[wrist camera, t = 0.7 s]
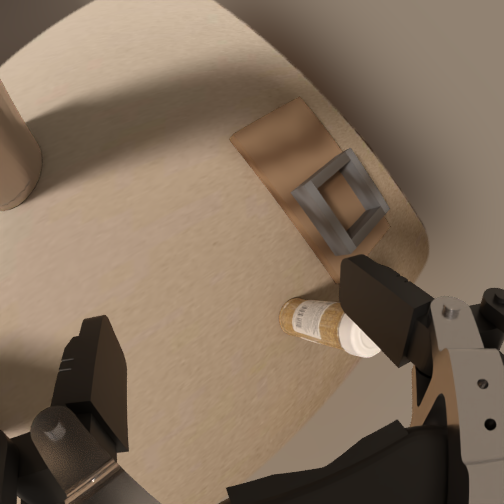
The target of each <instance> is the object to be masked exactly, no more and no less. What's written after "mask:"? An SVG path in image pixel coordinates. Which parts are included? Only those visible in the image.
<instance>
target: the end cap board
mask: <svg viewBox="0 0 504 504" xmlns="http://www.w3.org/2000/svg"><path fill="white" fill-rule="evenodd" d="M229 140H230V141H231V142H232V144H233V145H234V146H235V147H236V149H237V150H238V151H239V153H240V154H241V155H242V156H243V158H244V159H245V160H246V161H247V163H248V164H249V165H250V167H251V168H252V169H253V170H254V172H255V173H256V174H257V176H258V177H259V178H260V180H261V181H262V182H263V183H264V185H265V186H266V187H267V189H268V190H269V191H270V193H271V194H272V195H273V197H274V198H275V199H276V201H277V202H278V203H279V205H280V206H281V207H282V209H283V210H284V211H285V213H286V214H287V215H288V217H289V218H290V220H291V221H292V222H293V224H294V225H295V226H296V228H297V229H298V230H299V232H300V233H301V235H302V236H303V237H304V239H305V240H306V242H307V243H308V244H309V246H310V247H311V249H312V250H313V251H314V253H315V254H316V256H317V257H318V258H319V260H320V261H321V263H322V264H323V265H324V267H325V268H326V270H327V271H328V273H329V274H330V276H331V277H332V278H333V280H334V281H335V283H340V265H341V261H342V260H343V259H344V258H348V257H352V256H355V255H359V254H364V255H366V256H367V255H368V254H369V253H370V251H371V250H372V249H373V248H374V247H375V245H376V244H377V243H378V242H379V241H380V239H381V238H382V237H383V236H384V234H385V233H386V232H387V231H388V229H389V228H390V227H391V226H390V225H389V223H388V221H387V220H386V218H385V216H384V215H385V214H386V213H387V212H388V210H389V209H390V208H389V206H388V205H387V203H386V201H385V200H384V198H383V196H382V195H381V193H380V192H379V190H378V188H377V187H376V185H375V184H374V182H373V181H372V179H371V177H370V176H369V174H368V173H367V171H366V170H365V168H364V167H363V165H362V164H361V162H360V161H359V159H358V158H357V157H356V155H355V154H354V152H353V151H352V149H351V148H349V149H347V150H345V151H343V152H342V151H341V149H340V148H339V146H338V145H337V144H336V142H335V141H334V140H333V138H332V137H331V135H330V134H329V133H328V131H327V130H326V129H325V127H324V126H323V125H322V124H321V122H320V121H319V120H318V118H317V117H316V116H315V114H314V113H313V112H312V111H311V109H310V108H309V107H308V106H307V104H306V103H305V102H304V101H303V99H302V98H301V97H298V98H296V99H294V100H292V101H290V102H289V103H287V104H285V105H283V106H281V107H279V108H278V109H276V110H274V111H272V112H270V113H269V114H267V115H265V116H263V117H261V118H260V119H258V120H256V121H255V122H253V123H251V124H249V125H248V126H246V127H244V128H243V129H241V130H239V131H238V132H236V133H234V134H233V135H232V136H231V138H230V139H229Z"/></svg>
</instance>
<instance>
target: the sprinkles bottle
mask: <svg viewBox="0 0 504 504" xmlns="http://www.w3.org/2000/svg"><path fill="white" fill-rule="evenodd" d="M279 322H280V325H281V327H282V329H283V331H284V332H285V333H287V334H289V335H292V336H298V337H301V338H303V339H305V340H308V341H312V342H315V343H319V344H324V345H327V346H331V347H334V348H338V349H342V350H345V351H346V352H348V353H349V354H352V355H355V356H360V357H365V358H368V357H372V356H374V355H376V354H377V353H379V352H380V350H381V349H380V348H379V347H378V346H377V345H376V344H375V343H374V342H373V341H372V340H371V339H370V338H369V337H368V336H367V335H366V334H365V333H364V332H363V331H362V330H361V329H360V328H359V327H358V326H357V325H356V324H355V323H354V322H353V321H352V320H351V319H350V318H349V317H348V316H347V315H346V314H345V313H344V311H343V310H342V308H341V305H340V302H328V301H318V300H304V299H301V298H295V299H291V300H289V301H288V302H286V303H285V304H284V306H283V307H282V309H281V311H280V315H279Z"/></svg>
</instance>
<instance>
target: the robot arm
mask: <svg viewBox="0 0 504 504" xmlns="http://www.w3.org/2000/svg"><path fill="white" fill-rule="evenodd" d="M41 168H42V154H41V150H40V147H39V145H38V144H37V142H36V140H35V139H34V137H33V135H32V134H31V132H30V130H29V129H28V127H27V125H26V124H25V122H24V120H23V119H22V117H21V115H20V114H19V112H18V110H17V108H16V107H15V105H14V103H13V101H12V100H11V98H10V96H9V94H8V92H7V90H6V89H5V87H4V85H3V83H2V81H1V79H0V211H4V210H9V209H12V208H14V207H16V206H18V205H19V204H20V203H22V202H23V201H24V200H25V199H26V198H27V197H28V196H29V195H30V194H31V192H32V191H33V189H34V188H35V186H36V184H37V181H38V179H39V176H40V173H41ZM339 301H340V305H341V308H342V310H343V311H344V313H345V314H346V315H347V316H348V317H349V318H350V319H351V320H352V321H353V322H354V323H355V324H356V325H357V326H358V327H359V328H360V329H361V330H362V331H363V332H364V333H365V334H366V335H367V336H368V337H369V338H370V339H371V340H372V341H373V342H374V343H375V344H376V345H377V346H378V347H379V348H380V349H381V350H382V351H383V352H384V354H386V355H387V357H389V358H390V360H391V361H392V362H393V363H394V364H395V365H396V366H397V367H398V368H399V367H401V366H403V365H405V364H407V363H409V362H412V363H413V364H414V365H413V368H412V420H411V424H410V427H408V428H404V427H403V426H402V424H401V423H400V422H399V421H398V420H396V421H394V422H392V423H390V424H389V425H387V426H385V427H383V428H381V429H379V430H378V431H376V432H374V433H372V434H370V435H368V436H366V437H364V438H362V439H361V440H360V441H358V442H357V443H356V444H355V445H353V446H352V447H351V448H350V449H348V450H347V451H346V452H345V453H343V454H342V455H341V456H340V457H338V458H337V459H336V460H334V461H333V462H332V463H330V464H329V465H327V466H325V467H322V468H318V469H312V470H305V471H299V472H292V473H284V474H274V475H271V476H267V477H264V478H261V479H257V480H254V481H250V482H247V483H243V484H239V485H235V486H231V487H227V488H226V490H227V493H228V496H229V498H228V499H226V500H224V501H222V502H220V503H219V504H504V355H503V354H502V353H501V352H500V351H499V350H500V348H501V345H502V343H503V341H504V290H503V289H500V288H490V289H487V290H486V291H485V292H484V294H483V298H482V301H481V304H476V305H471V306H468V305H467V304H466V303H465V302H464V301H462V300H460V299H458V298H455V297H449V296H443V297H438V298H436V299H434V298H433V297H432V296H430V295H429V294H427V293H426V292H424V291H423V290H422V289H420V288H419V287H417V286H416V285H415V284H413V283H412V282H410V281H409V282H408V280H407V279H406V278H404V277H403V276H400V274H398V273H397V272H396V271H394V270H393V269H391V268H389V267H386V266H383V265H380V264H378V263H376V262H375V261H373V260H372V259H370V258H369V257H367V256H366V255H364V254H359V255H355V256H352V257H348V258H344V259H343V260H342V261H341V265H340V288H339ZM128 451H129V447H128V427H127V366H126V360H125V357H124V354H123V351H122V349H121V347H120V344H119V342H118V340H117V338H116V335H115V333H114V331H113V328H112V326H111V323H110V321H109V319H108V317H107V316H106V315H102V316H97V317H92V318H87V319H84V320H83V322H82V326H81V330H80V333H79V336H76V337H73V338H72V339H71V340H70V342H69V343H68V344H67V346H66V347H65V349H64V353H63V356H62V362H61V364H60V368H59V372H58V376H57V380H56V384H55V389H54V393H53V398H52V403H51V407H49V408H46V409H45V410H43V411H42V412H40V413H39V414H38V415H37V416H36V418H35V419H34V421H33V423H32V425H31V432H28V433H25V434H23V435H20V436H17V437H14V438H11V439H9V438H8V437H7V436H6V435H5V433H4V432H3V431H1V430H0V504H17V496H18V497H19V498H20V499H21V504H161V503H160V502H158V501H157V500H156V499H155V498H154V497H153V496H151V495H150V494H149V493H148V492H147V491H146V490H145V489H144V488H142V487H141V486H140V485H139V484H138V483H137V482H136V481H135V480H134V479H133V478H132V477H131V476H130V475H129V474H128V473H127V472H126V471H125V470H124V469H123V468H122V467H121V466H120V465H119V464H118V463H117V453H119V452H128Z"/></svg>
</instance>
